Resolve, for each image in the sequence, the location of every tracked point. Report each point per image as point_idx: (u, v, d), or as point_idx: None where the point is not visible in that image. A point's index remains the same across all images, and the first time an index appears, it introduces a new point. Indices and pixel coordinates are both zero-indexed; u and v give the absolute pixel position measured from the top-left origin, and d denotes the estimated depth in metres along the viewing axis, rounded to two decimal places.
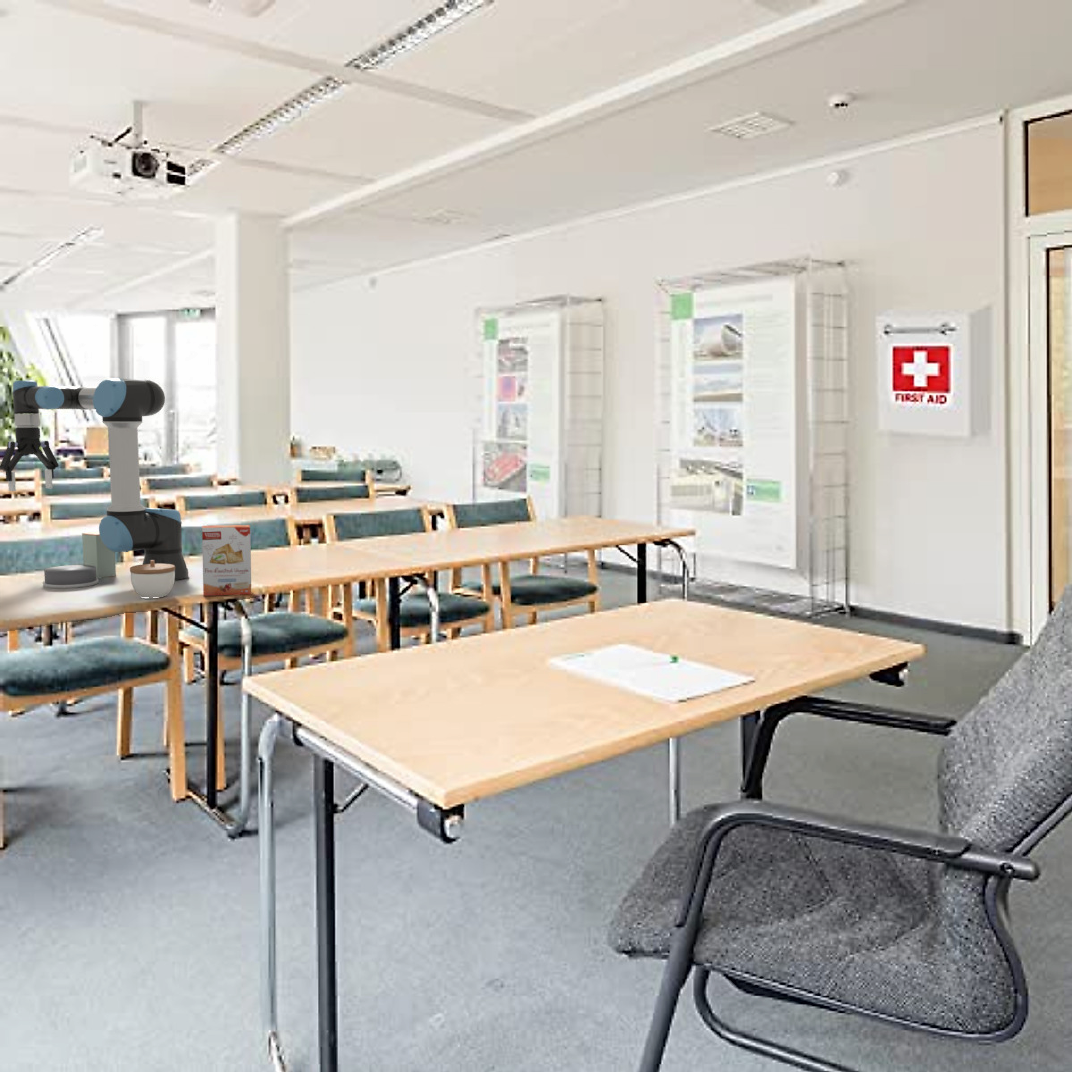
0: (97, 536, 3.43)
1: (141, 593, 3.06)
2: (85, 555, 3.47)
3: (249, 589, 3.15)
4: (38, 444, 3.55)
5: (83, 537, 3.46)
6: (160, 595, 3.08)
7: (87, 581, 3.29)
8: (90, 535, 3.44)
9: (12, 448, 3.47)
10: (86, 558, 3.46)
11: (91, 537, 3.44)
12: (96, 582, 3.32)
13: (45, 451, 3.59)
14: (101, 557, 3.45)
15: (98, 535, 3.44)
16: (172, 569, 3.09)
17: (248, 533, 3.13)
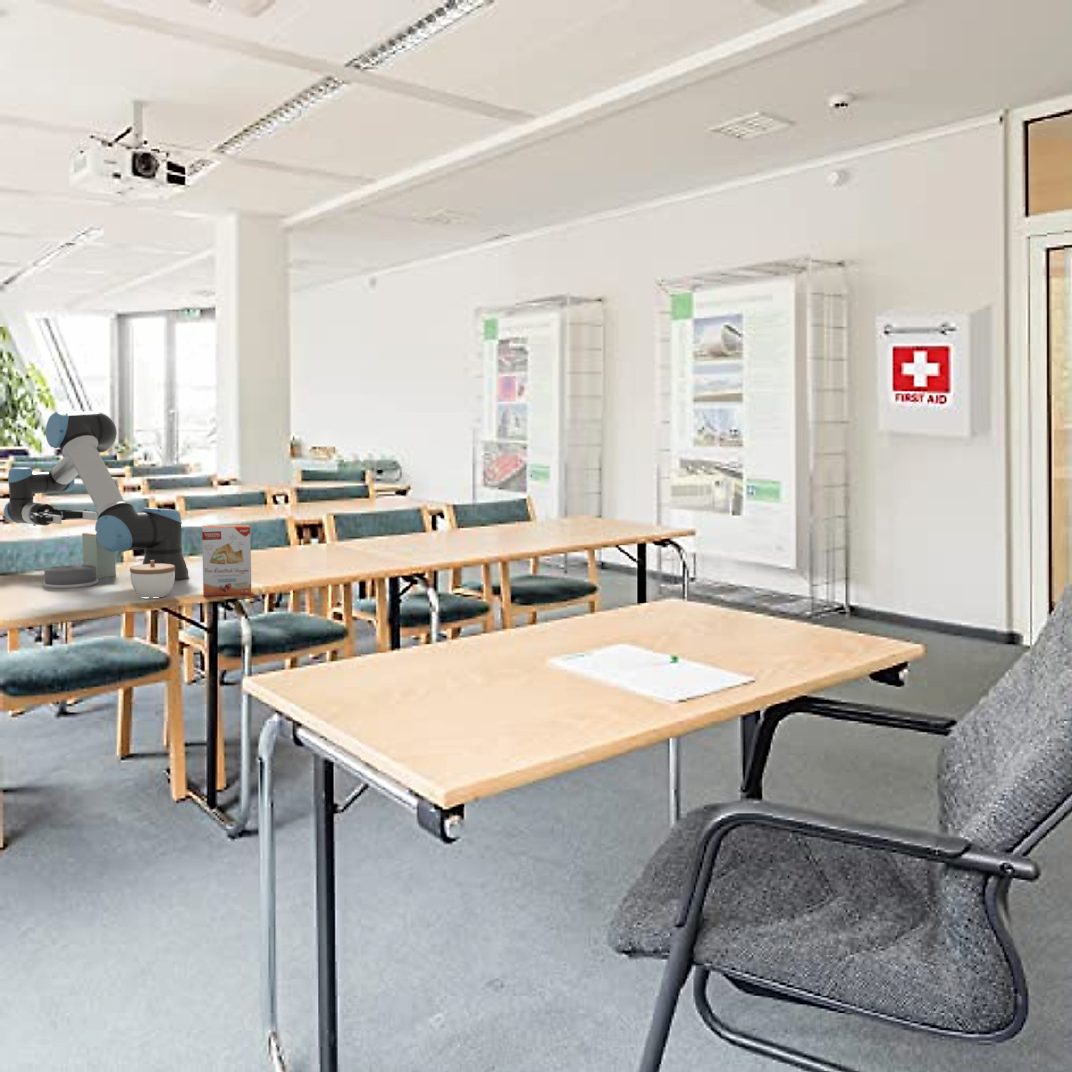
0: None
1: (141, 593, 3.06)
2: (85, 555, 3.47)
3: (249, 589, 3.15)
4: None
5: (83, 537, 3.46)
6: (160, 595, 3.08)
7: (87, 581, 3.29)
8: (90, 535, 3.44)
9: (34, 513, 3.53)
10: (86, 558, 3.46)
11: (91, 537, 3.44)
12: (96, 582, 3.32)
13: None
14: (101, 557, 3.45)
15: None
16: (172, 569, 3.09)
17: (248, 533, 3.13)
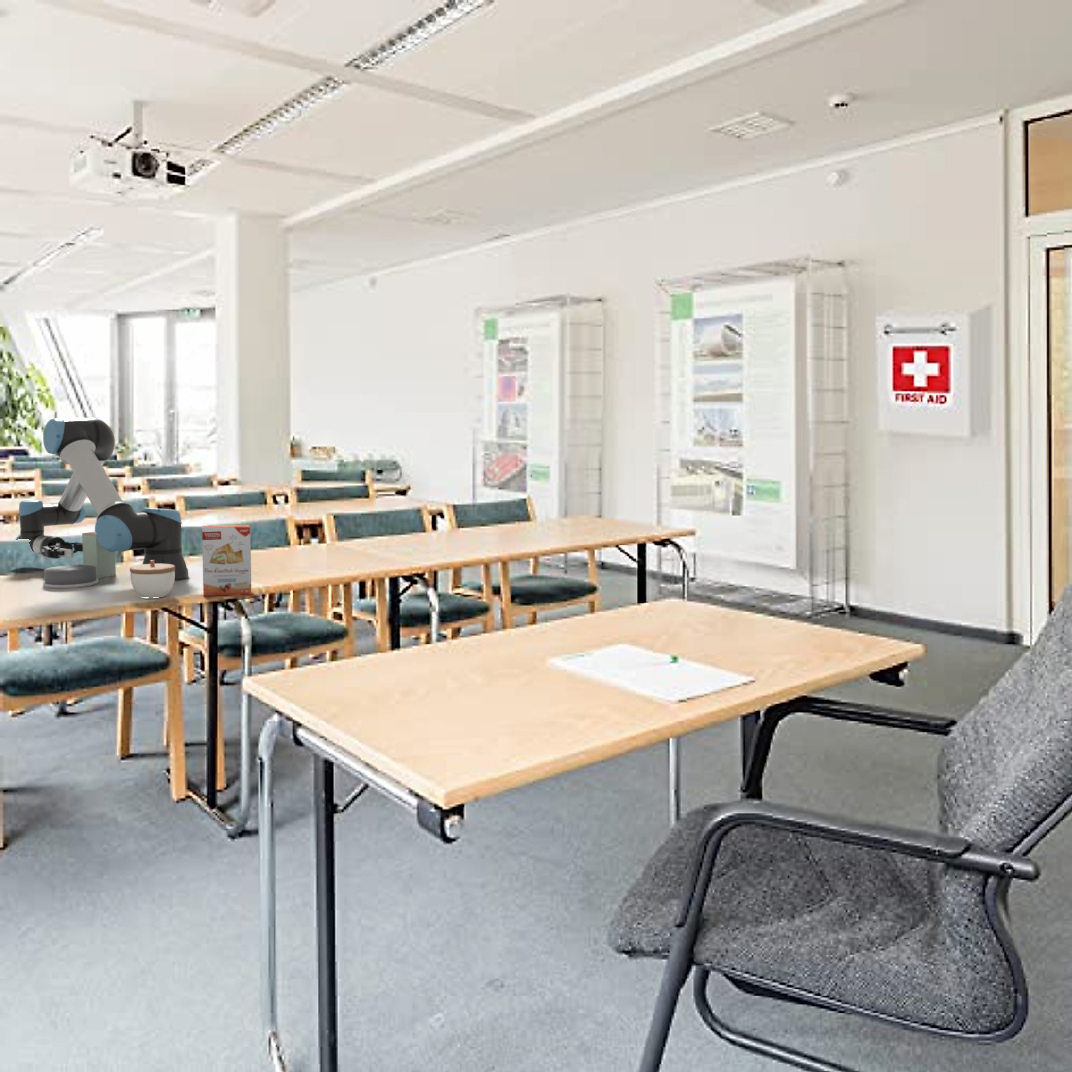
0: None
1: (141, 593, 3.06)
2: (85, 555, 3.47)
3: (249, 589, 3.15)
4: None
5: (83, 537, 3.46)
6: (160, 595, 3.08)
7: (87, 581, 3.29)
8: (90, 535, 3.44)
9: (45, 547, 3.52)
10: (86, 558, 3.46)
11: (91, 537, 3.44)
12: (96, 582, 3.32)
13: None
14: (101, 557, 3.45)
15: None
16: (172, 569, 3.09)
17: (248, 533, 3.13)
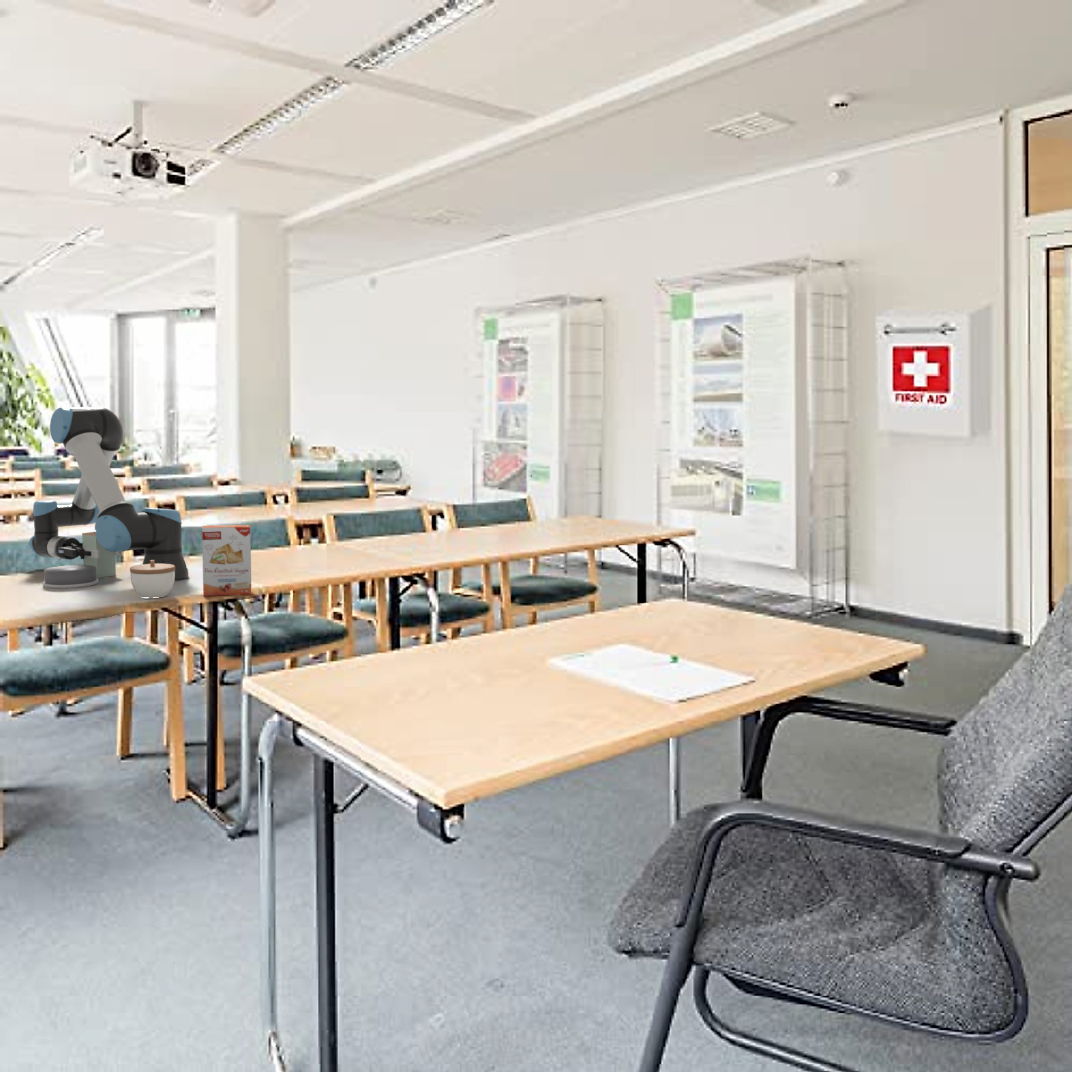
0: None
1: (141, 593, 3.06)
2: None
3: (249, 589, 3.15)
4: None
5: (83, 537, 3.46)
6: (160, 595, 3.08)
7: (87, 581, 3.29)
8: (90, 535, 3.44)
9: (64, 548, 3.48)
10: (86, 558, 3.46)
11: (91, 537, 3.44)
12: (96, 582, 3.32)
13: None
14: (101, 557, 3.45)
15: None
16: (172, 569, 3.09)
17: (248, 533, 3.13)
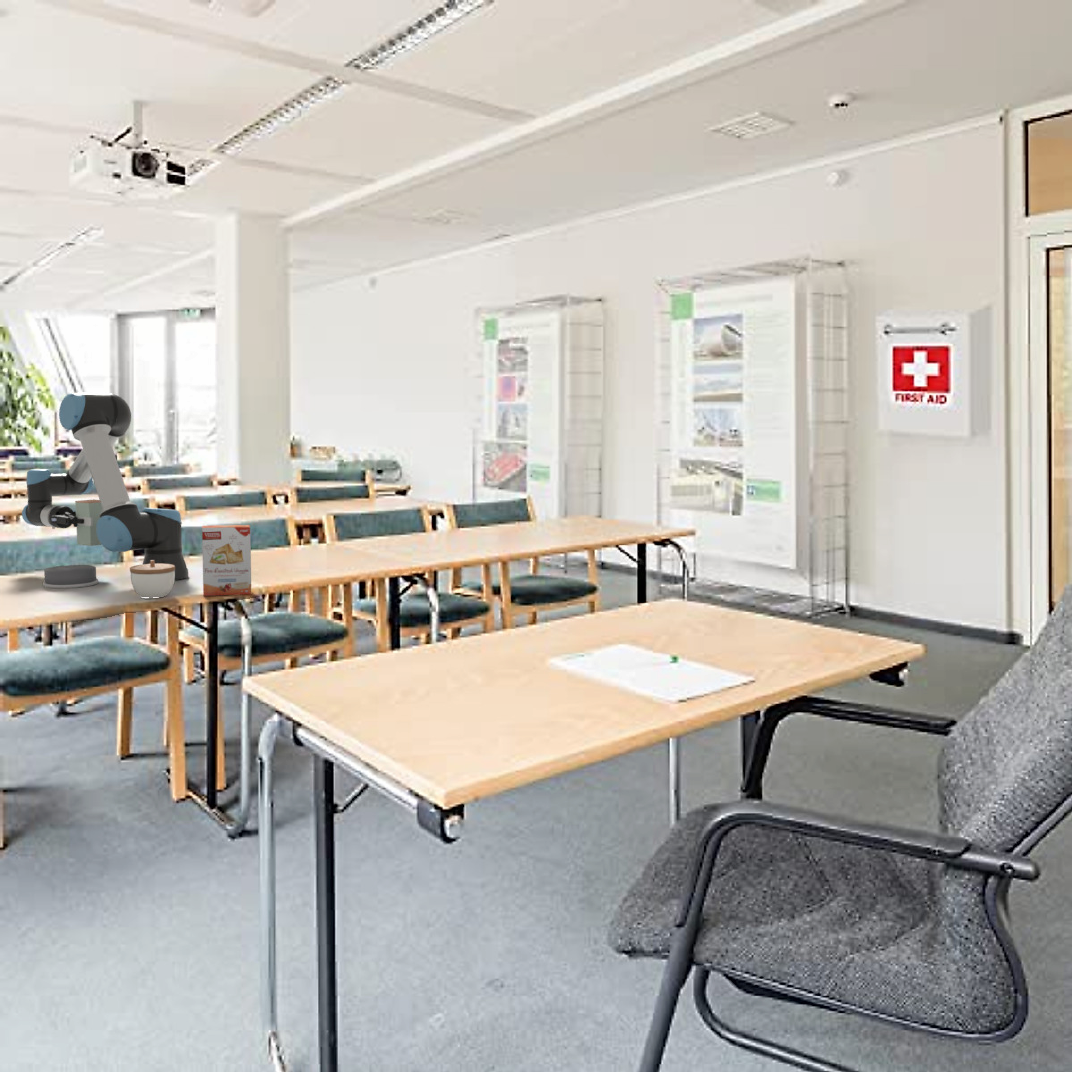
0: (90, 503, 3.39)
1: (141, 593, 3.06)
2: None
3: (249, 589, 3.15)
4: None
5: (76, 505, 3.42)
6: (160, 595, 3.08)
7: (87, 581, 3.29)
8: (83, 503, 3.40)
9: (57, 516, 3.44)
10: (79, 526, 3.43)
11: (84, 504, 3.40)
12: (96, 582, 3.32)
13: None
14: (94, 524, 3.41)
15: (91, 502, 3.40)
16: (172, 569, 3.09)
17: (248, 533, 3.13)
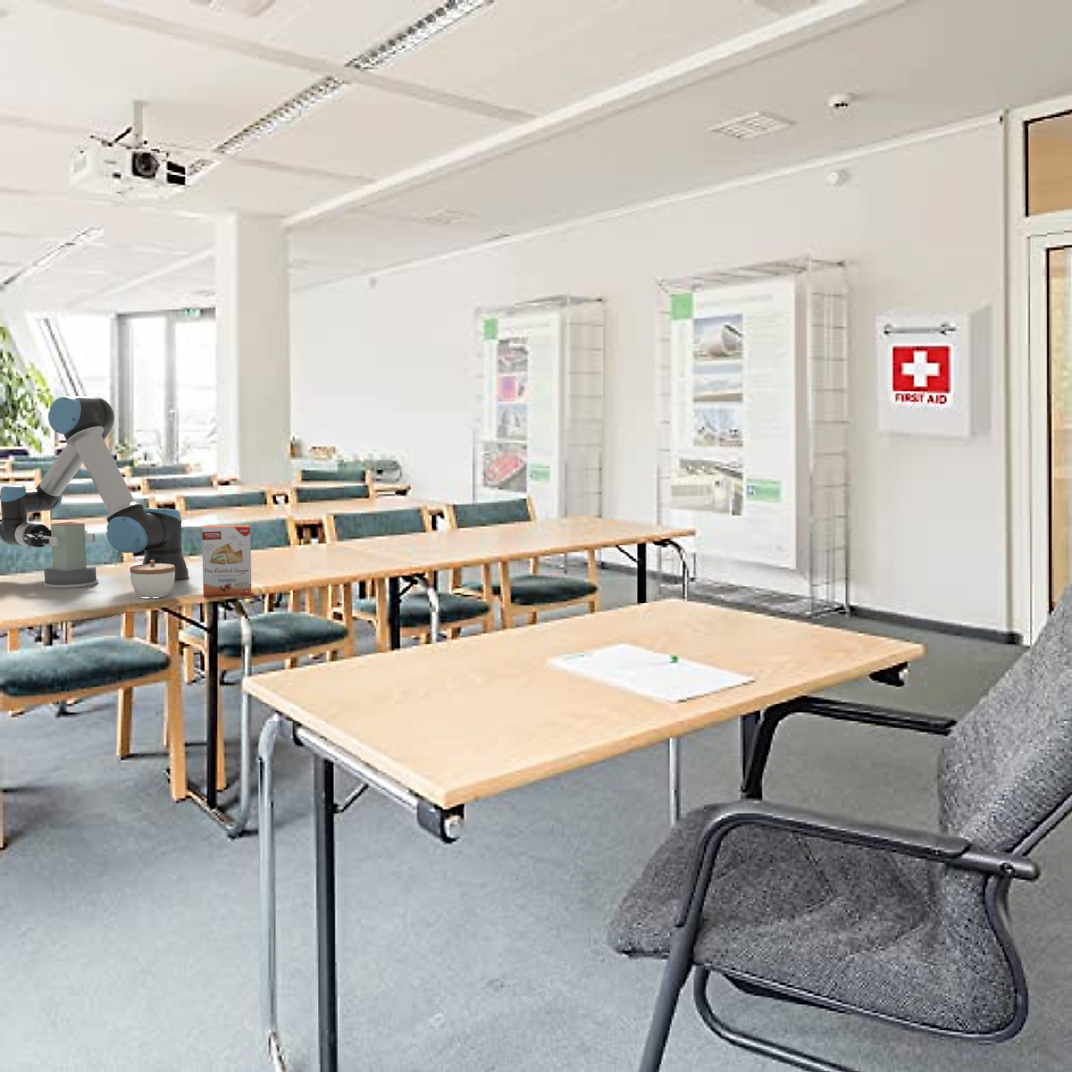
0: (66, 527, 3.25)
1: (141, 593, 3.06)
2: (53, 547, 3.29)
3: (249, 589, 3.15)
4: None
5: (52, 528, 3.28)
6: (160, 595, 3.08)
7: (87, 581, 3.29)
8: (59, 526, 3.26)
9: (28, 534, 3.30)
10: (55, 550, 3.29)
11: (60, 528, 3.26)
12: (96, 582, 3.32)
13: None
14: (70, 548, 3.27)
15: (67, 526, 3.26)
16: (172, 569, 3.09)
17: (248, 533, 3.13)
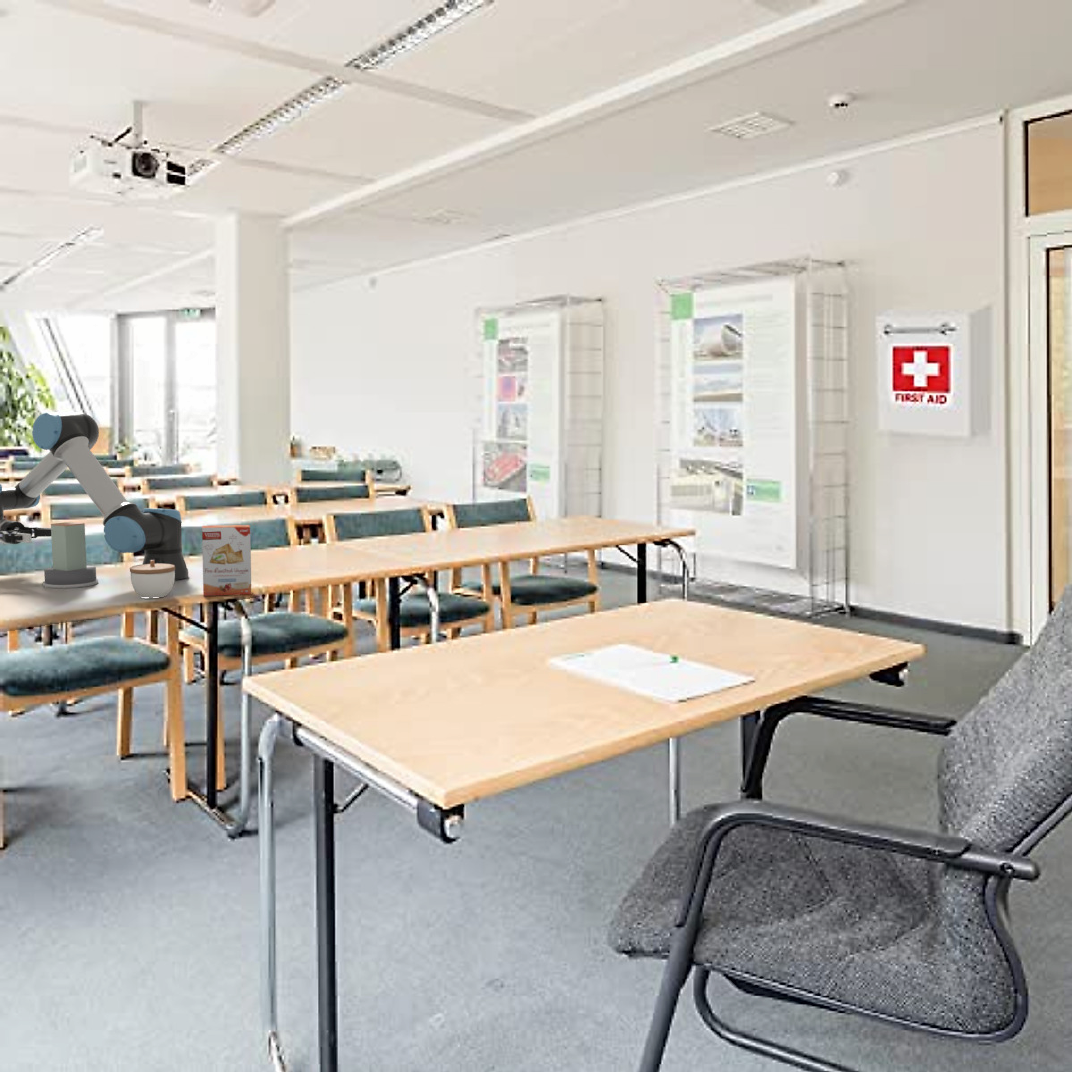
0: (66, 527, 3.25)
1: (141, 593, 3.06)
2: (53, 547, 3.29)
3: (249, 589, 3.15)
4: None
5: (52, 528, 3.28)
6: (160, 595, 3.08)
7: (87, 581, 3.29)
8: (59, 526, 3.26)
9: (3, 531, 3.36)
10: (55, 550, 3.29)
11: (60, 528, 3.26)
12: (96, 582, 3.32)
13: None
14: (70, 548, 3.27)
15: (67, 526, 3.26)
16: (172, 569, 3.09)
17: (248, 533, 3.13)
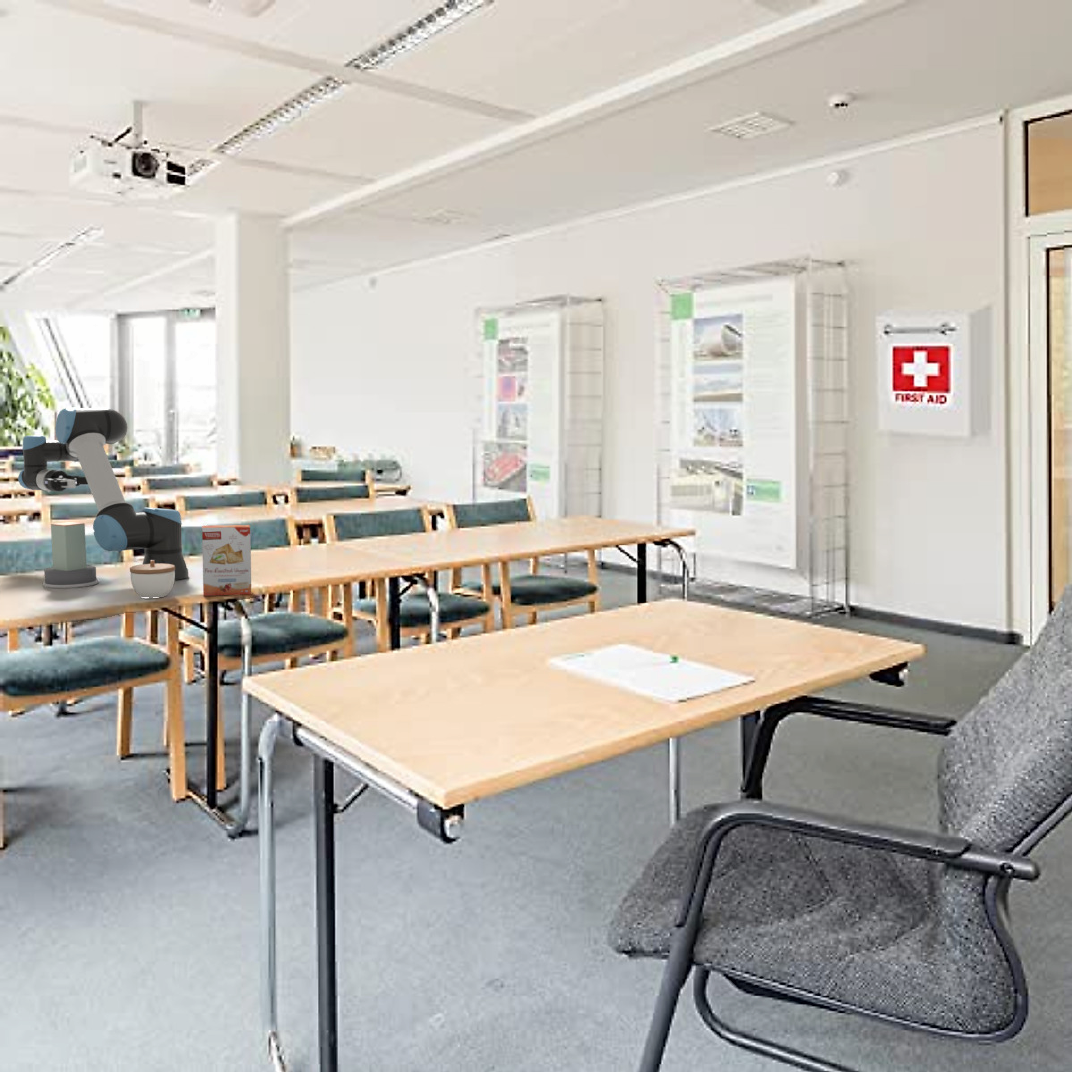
0: (66, 527, 3.25)
1: (141, 593, 3.06)
2: (53, 547, 3.29)
3: (249, 589, 3.15)
4: None
5: (52, 528, 3.28)
6: (160, 595, 3.08)
7: (87, 581, 3.29)
8: (59, 526, 3.26)
9: (48, 478, 3.60)
10: (55, 550, 3.29)
11: (60, 528, 3.26)
12: (96, 582, 3.32)
13: None
14: (70, 548, 3.27)
15: (67, 526, 3.26)
16: (172, 569, 3.09)
17: (248, 533, 3.13)
